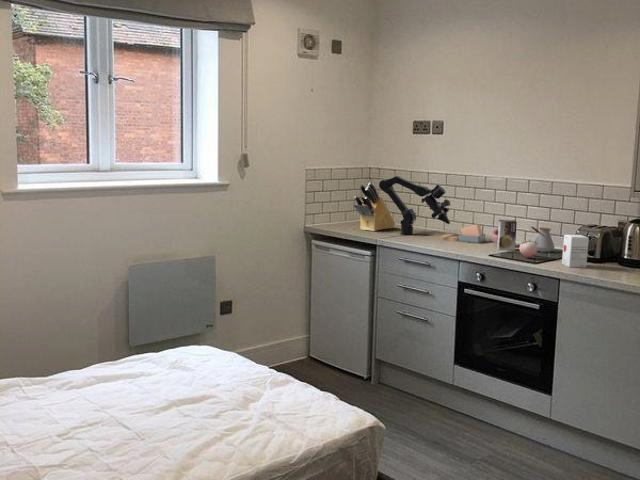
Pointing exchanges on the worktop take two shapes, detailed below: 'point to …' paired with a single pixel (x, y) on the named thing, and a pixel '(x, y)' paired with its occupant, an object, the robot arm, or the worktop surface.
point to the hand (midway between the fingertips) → (449, 223)
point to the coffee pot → (544, 240)
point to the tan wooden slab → (449, 237)
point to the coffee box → (506, 235)
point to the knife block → (373, 210)
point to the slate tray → (471, 238)
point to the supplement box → (575, 250)
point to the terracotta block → (472, 230)
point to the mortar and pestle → (495, 235)
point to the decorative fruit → (528, 248)
